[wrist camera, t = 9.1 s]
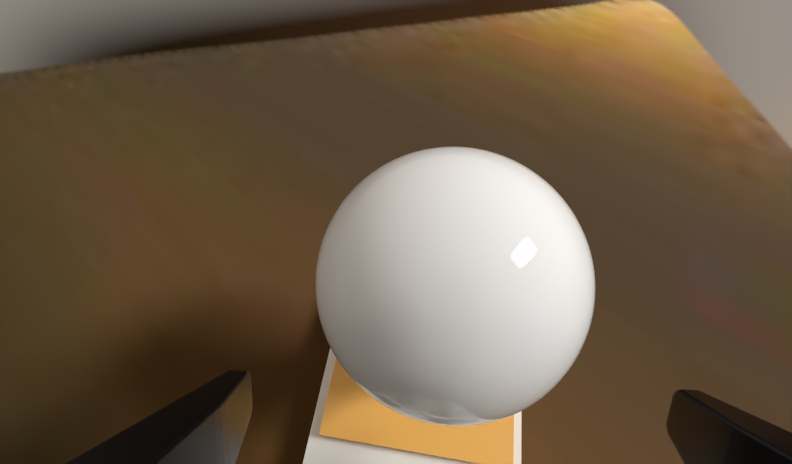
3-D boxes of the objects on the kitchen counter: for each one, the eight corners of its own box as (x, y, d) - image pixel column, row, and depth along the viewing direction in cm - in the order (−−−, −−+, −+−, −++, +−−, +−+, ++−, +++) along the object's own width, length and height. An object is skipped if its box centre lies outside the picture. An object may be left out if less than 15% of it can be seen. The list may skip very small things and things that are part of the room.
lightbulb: (463, 479, 15) (617, 502, 5) (313, 391, 16) (208, 276, 6) (521, 325, 17) (688, 153, 8) (390, 261, 19) (397, 48, 9)
